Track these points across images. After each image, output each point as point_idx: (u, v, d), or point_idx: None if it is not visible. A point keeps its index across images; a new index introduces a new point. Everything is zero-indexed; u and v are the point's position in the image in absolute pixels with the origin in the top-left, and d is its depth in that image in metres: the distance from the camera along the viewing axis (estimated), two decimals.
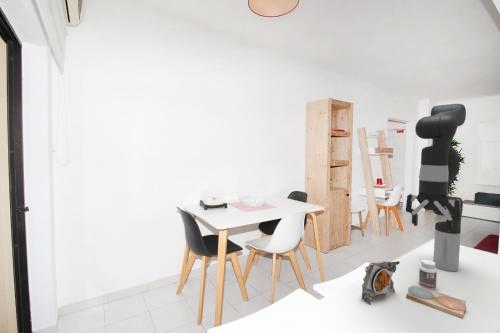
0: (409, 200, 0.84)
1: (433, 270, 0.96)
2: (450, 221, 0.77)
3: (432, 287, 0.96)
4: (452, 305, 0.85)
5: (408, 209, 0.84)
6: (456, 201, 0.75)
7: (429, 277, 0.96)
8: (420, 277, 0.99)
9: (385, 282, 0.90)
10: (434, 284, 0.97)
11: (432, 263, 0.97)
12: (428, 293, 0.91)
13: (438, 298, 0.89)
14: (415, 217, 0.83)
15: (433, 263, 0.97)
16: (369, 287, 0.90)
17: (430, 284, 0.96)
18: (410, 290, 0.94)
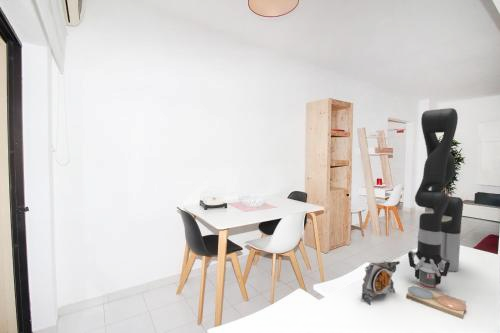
0: (410, 257, 1.02)
1: (433, 270, 0.96)
2: (439, 277, 0.96)
3: (432, 287, 0.96)
4: (452, 305, 0.85)
5: (412, 265, 1.02)
6: (447, 263, 0.93)
7: (429, 277, 0.96)
8: (420, 277, 0.99)
9: (385, 282, 0.90)
10: (434, 284, 0.96)
11: None
12: (428, 293, 0.91)
13: (438, 298, 0.89)
14: (417, 272, 1.00)
15: None
16: (369, 287, 0.90)
17: (430, 284, 0.96)
18: (410, 290, 0.94)
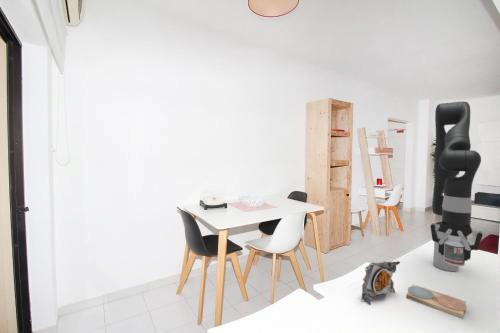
0: (433, 230, 0.88)
1: (461, 243, 0.82)
2: (469, 251, 0.82)
3: (460, 263, 0.82)
4: (452, 305, 0.85)
5: (435, 239, 0.87)
6: (479, 234, 0.79)
7: (457, 252, 0.82)
8: (445, 253, 0.85)
9: (385, 282, 0.90)
10: (463, 260, 0.82)
11: None
12: (428, 293, 0.91)
13: (438, 298, 0.89)
14: (442, 247, 0.86)
15: None
16: (369, 287, 0.90)
17: (458, 260, 0.82)
18: (410, 290, 0.94)
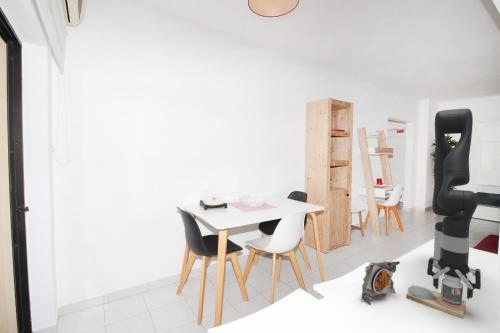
0: (430, 264, 0.89)
1: (459, 285, 0.83)
2: (471, 289, 0.82)
3: (458, 304, 0.83)
4: None
5: (429, 272, 0.89)
6: (477, 272, 0.80)
7: (454, 293, 0.83)
8: (443, 292, 0.86)
9: (385, 282, 0.90)
10: (460, 301, 0.83)
11: None
12: (428, 293, 0.91)
13: (438, 298, 0.89)
14: (436, 281, 0.88)
15: None
16: (369, 287, 0.90)
17: (455, 301, 0.83)
18: (410, 290, 0.94)
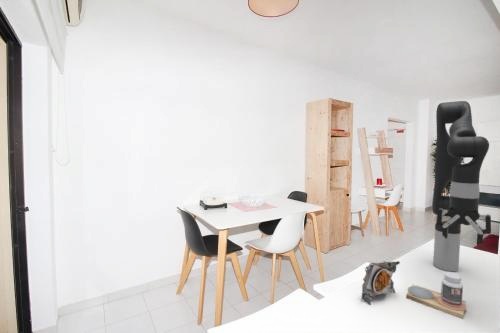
0: (440, 214, 0.89)
1: (459, 285, 0.83)
2: (481, 235, 0.82)
3: (458, 304, 0.83)
4: None
5: (439, 222, 0.89)
6: (487, 217, 0.80)
7: (454, 293, 0.83)
8: (443, 292, 0.86)
9: (385, 282, 0.90)
10: (460, 301, 0.83)
11: (457, 276, 0.84)
12: (428, 293, 0.91)
13: (438, 298, 0.89)
14: (446, 230, 0.88)
15: (458, 276, 0.84)
16: (369, 287, 0.90)
17: (455, 301, 0.83)
18: (410, 290, 0.94)
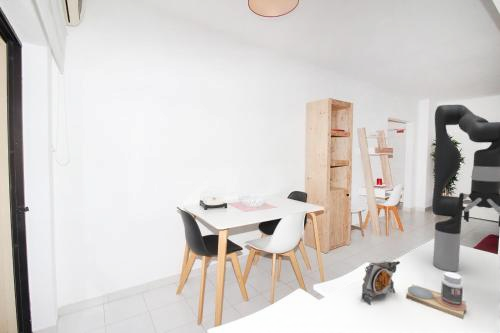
0: (461, 198, 0.92)
1: (459, 285, 0.83)
2: None
3: (458, 304, 0.83)
4: None
5: (460, 206, 0.92)
6: None
7: (454, 293, 0.83)
8: (443, 292, 0.86)
9: (385, 282, 0.90)
10: (460, 301, 0.83)
11: (457, 276, 0.84)
12: (428, 293, 0.91)
13: (438, 298, 0.89)
14: (467, 214, 0.91)
15: (459, 276, 0.84)
16: (369, 287, 0.90)
17: (455, 301, 0.83)
18: (410, 290, 0.94)
